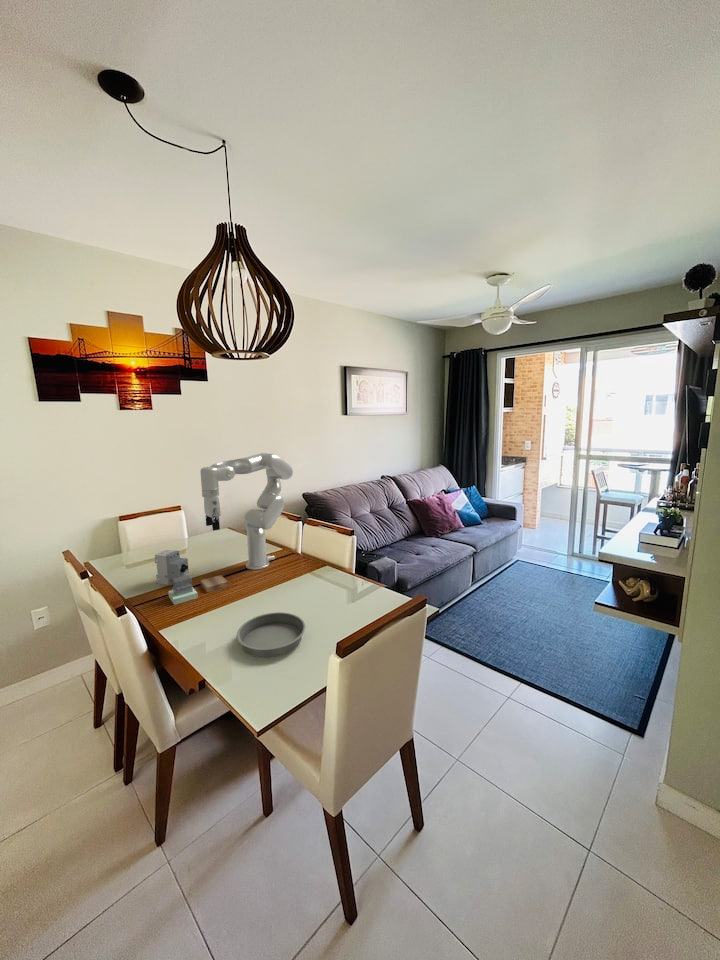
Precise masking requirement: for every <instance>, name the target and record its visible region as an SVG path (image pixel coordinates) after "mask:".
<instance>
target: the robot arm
mask: <svg viewBox="0 0 720 960" xmlns="http://www.w3.org/2000/svg"><path fill="white" fill-rule="evenodd" d="M261 470H265V473H266V478H267V479H266V480H267V482H266V483H267V484H266V486H265V487H264V490H263V491H262V493H260V495H259V497H258V499H257V501H256V506H257V508H258V509H257V508H256V509H255V508H253V509H252V508H251V509H249V510H247V511H246V513H245V514H244V517H243V518H244V524H245V528H246V537H247V539H246V540H247V555H248V561H247V562H246V564H245V567H246V568H247V569H248V570H263V569H265V568H267V567H269V566H270V561H272V560H275V559H276V558H275V557H276V556H275V555H267V546H266V544H267V542H266V532H265V530H266V531H267V530H271V529H272V528H273V526H274V525H275V524H276V522H277V521H278V519H279V518H280V515H281V514H282V512H283V510H284V507H285V499H284V498H283V497H282V495H280V493H281V491H282V482H281V480H289V479H291V478H292V476H293V474H294V470H293V467H292V466H291V465H290V464H289V463H288V462H286V461H285V460H284V459H282V458H281V457H280V456H278V455H277V454H275V453H267V452H266V453H265V452H264V453H263V452H261V453H257V454H253V455H250V456H246V457H242V458H236V459H230V460H224V461H221V462H220V461H219V462H217V463H214V464H212V465H210V466H205V467H202V468H200V472H199V473H200V483H201V496H202V498H203V508H204V515H205V526H206V527H209V526H211V527H212V531H219V530H220V529H221V527H220V526H221V524H220V517H221V515H222V513H221V504H220V503H221V502H220V499H219V497H220V491H219V490H220V488H219V486H220V485H219V482H229V481H231V480H232V479H233V478H235V476H236V475H247V474H252V473H255V472H258V471H261Z"/></svg>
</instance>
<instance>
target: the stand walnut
mask: <svg viewBox="0 0 720 960" xmlns="http://www.w3.org/2000/svg"><path fill="white" fill-rule="evenodd" d="M200 586H201V588H203V590H204V591H205V590H206V591H205V592H206V593H210V592H213V591H217V590H221V589H224V588H228V587H229V581H228V580H227V579H226V578H225V577H224V576H223V575H222V574H220V575H216V576H212V577H209V578H208V577H207V578H204V579H201V580H200Z"/></svg>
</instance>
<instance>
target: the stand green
mask: <svg viewBox="0 0 720 960" xmlns="http://www.w3.org/2000/svg"><path fill="white" fill-rule="evenodd" d="M192 589H193V592H190V593H186V594H183V595H179V596H176V595H175V594H174V592H173V589H172V590H168V597H169V599H170V601H171V602H172V604H173V605H179V604H181V603H186V602H189V601H192V600H196V599H199V594H198V591H196V589H195V588H194V587H193V586H192Z"/></svg>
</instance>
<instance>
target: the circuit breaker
mask: <svg viewBox="0 0 720 960" xmlns="http://www.w3.org/2000/svg"><path fill="white" fill-rule="evenodd" d="M154 564H156V570H157V571H156V572H157V573H156V576H155V578H156V582H157V583H156V584H157V585H165V586H173V583H172V578H177V577H181V576H185V575H188V574H189V572H190V571H189V561H188V558H184V557H181V556H180V550H173V549H164V550H162V551H160V552H158V553H155V555H154Z"/></svg>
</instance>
